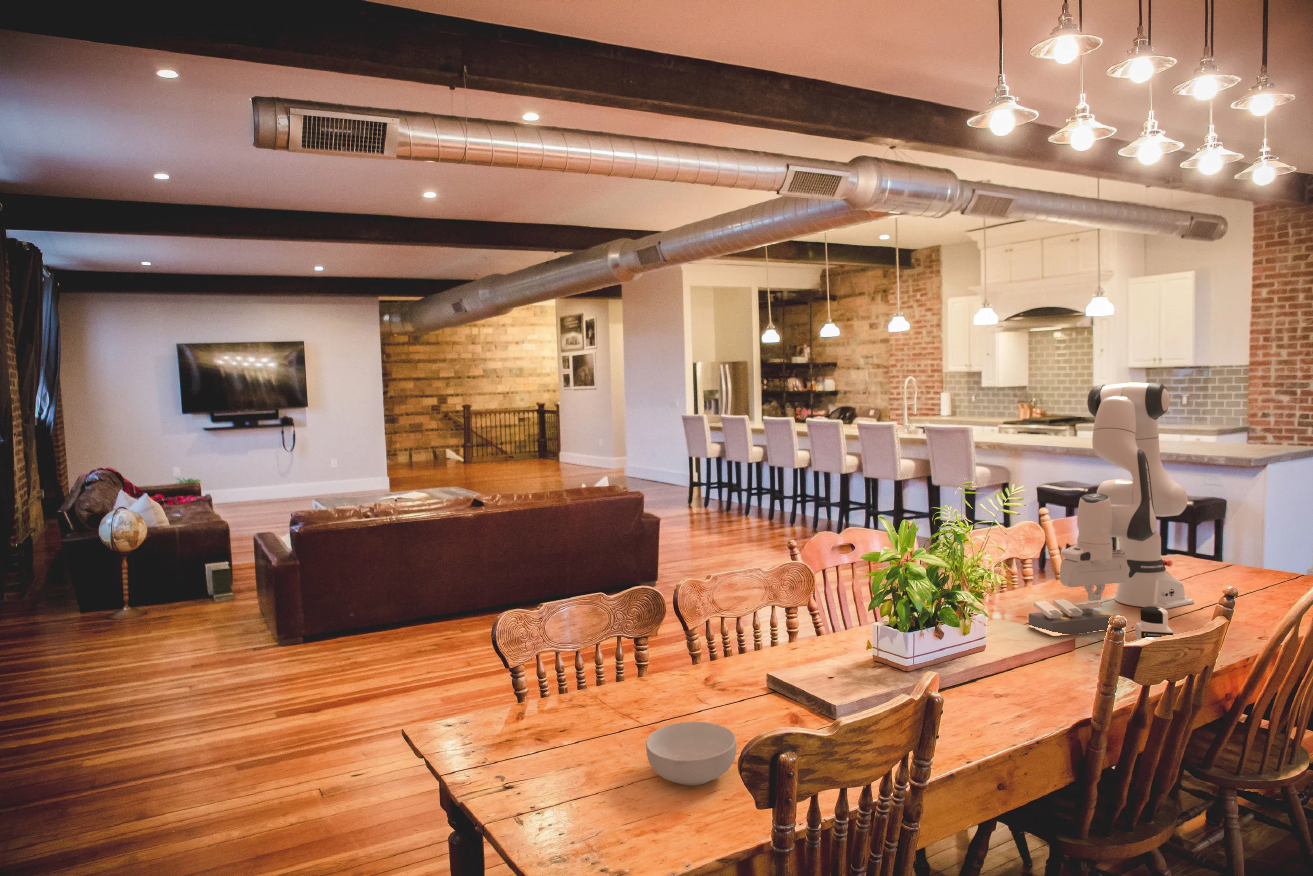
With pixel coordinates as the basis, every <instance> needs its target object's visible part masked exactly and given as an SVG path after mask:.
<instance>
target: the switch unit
mask: <svg viewBox="0 0 1313 876" xmlns="http://www.w3.org/2000/svg"><path fill="white" fill-rule="evenodd" d="M1058 610H1059V611H1060V612H1061V613H1063V616H1062V617H1061V618H1052V619H1050V618H1048V617H1047V616H1046V615H1044V614H1043V613H1042V612H1041V611H1039V612H1032V613H1028V626H1029V625H1032V626H1034V627H1038V628H1042V629H1046V630H1049V631H1052V632H1058V633H1062V634H1076V635H1080V634H1079V633H1085V634H1088V633H1087V632H1093V631H1099V630H1105V631H1104V632H1107V631H1106V630H1107V628H1108V625H1109V623H1108V621H1109V618H1110V617H1111V616H1113V615H1112V614H1109V613H1107V612H1104V611H1099V610H1096V609H1093V608H1080V610H1081V611H1083V613H1082V615H1080V616H1068V615H1067V614H1066V613H1064V612H1063V611H1062V610H1060V609H1058ZM1093 633H1094V632H1093Z"/></svg>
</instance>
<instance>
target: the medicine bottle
mask: <svg viewBox="0 0 1313 876" xmlns="http://www.w3.org/2000/svg"><path fill="white" fill-rule="evenodd" d="M1139 611H1140V616H1139V617H1140V622H1138V621H1137V622H1135V641H1136V640H1137V639H1141V638H1145V637H1162V636H1166V635H1173V636H1174V631H1173V630H1172V629H1171V628H1170V627H1169V611H1167V609H1163V608H1160V607H1153V606H1147V607H1141V608H1140V610H1139Z"/></svg>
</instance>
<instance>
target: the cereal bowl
mask: <svg viewBox="0 0 1313 876" xmlns="http://www.w3.org/2000/svg"><path fill="white" fill-rule="evenodd" d="M645 747H646V748H645V749H646V756H647V760H648V764H649V766H650V767H651V768H652V770H653V771H654V773H656V774H657V775H658V776H660V777H661V778H663V779H665V780H667V781H669V782H673V783H677V784H679V785H682V786H683V785H684V786H688V787H689V786H691V787H693V786H702V785H705V784H707V783H709V782H710V781H713V780H717V779H718V778H719V777H722V775H724V774H725V773H727V772H728V771H729V770H730V768H731V767H732V765H733V763H734V762H735V760H736V757H737V755H736V754H737V738H736V736H735V734H734V732H733V731H732V730H730V729H729V728H727V727H726V726H722V725H720V724H716V723H712V722H707V721H682V722H675V723H670V724H668V725H664V726H661V727H660V728H658V729H656V730H654V731H652V732H651V733H650V734H649V735H648V737H647V738H646V741H645Z"/></svg>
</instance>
